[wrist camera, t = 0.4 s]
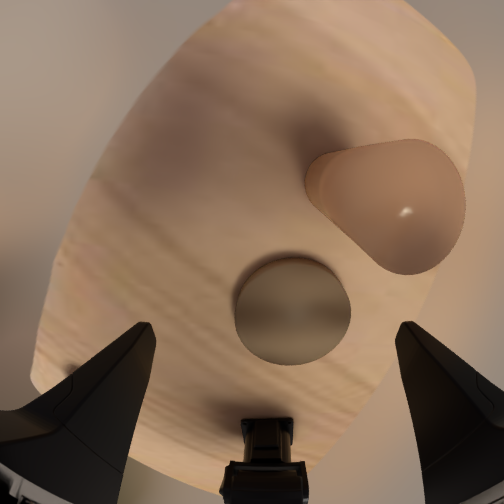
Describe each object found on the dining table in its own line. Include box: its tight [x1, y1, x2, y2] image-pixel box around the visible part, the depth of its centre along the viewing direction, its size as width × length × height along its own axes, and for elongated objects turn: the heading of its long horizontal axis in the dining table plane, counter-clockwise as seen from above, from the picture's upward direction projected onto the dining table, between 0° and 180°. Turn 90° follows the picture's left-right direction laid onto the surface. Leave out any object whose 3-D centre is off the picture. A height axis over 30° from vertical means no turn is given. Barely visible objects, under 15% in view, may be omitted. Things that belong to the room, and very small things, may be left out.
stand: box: [235, 258, 351, 365], centre depth 24 cm, size 10×10×2 cm
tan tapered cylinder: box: [305, 139, 466, 275], centre depth 15 cm, size 5×5×13 cm
